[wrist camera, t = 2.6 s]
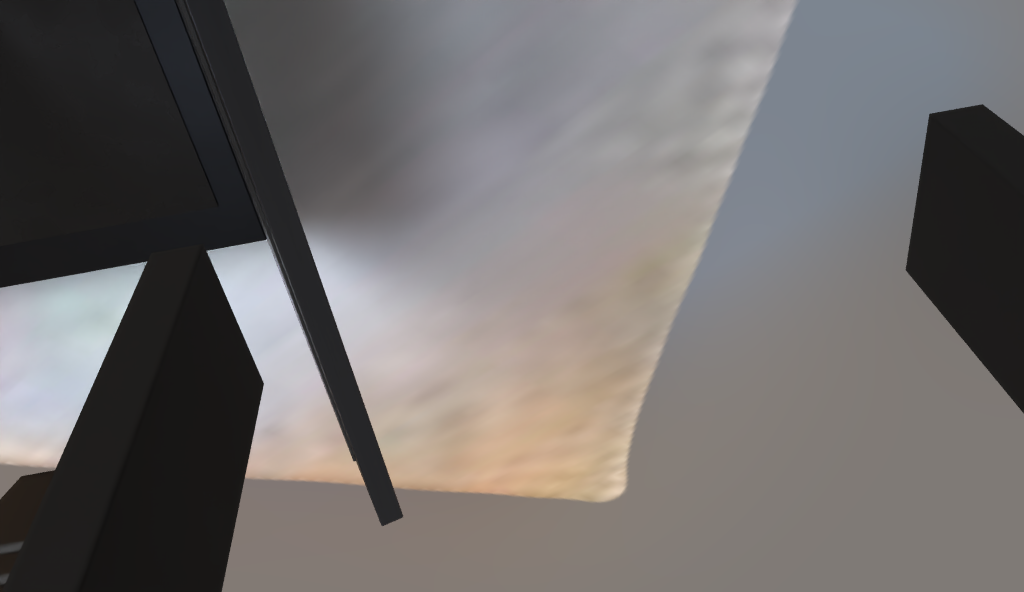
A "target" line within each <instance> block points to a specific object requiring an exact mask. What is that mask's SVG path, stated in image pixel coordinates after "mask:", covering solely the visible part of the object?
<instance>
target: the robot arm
mask: <svg viewBox="0 0 1024 592" xmlns="http://www.w3.org/2000/svg"><path fill="white" fill-rule="evenodd" d="M906 271H907V272H908V273H909V275H910V276H911V277H912V278H913V279H914V281H915V282H916V283H917V284H918V286H919V287H920V288H921V289H922V290H923V292H924V293H925V294H926V295H927V297H928V298H929V299H930V300H931V301H932V303H933V304H934V305H935V306H936V307H937V308H938V310H939V311H940V312H941V314H942V315H943V316H944V317H945V318H946V320H947V321H948V322H949V323H950V324H951V326H952V327H953V328H954V329H955V330H956V332H957V333H958V334H959V335H960V337H961V338H962V339H963V340H964V341H965V343H967V345H968V346H969V347H970V349H971V350H972V351H973V352H974V354H975V355H976V356H977V357H978V358H979V360H980V361H981V362H982V363H983V364H984V366H985V367H986V368H987V369H988V371H990V373H991V374H992V375H993V377H994V378H995V379H996V380H997V381H998V383H999V384H1000V385H1001V386H1002V387H1003V389H1004V390H1005V391H1006V392H1007V394H1008V395H1009V396H1010V397H1011V398H1012V399H1013V401H1014V402H1015V403H1016V405H1017V406H1018V407H1019V408H1020V409H1021V411H1022V412H1023V413H1024V136H1023V135H1022V134H1021V133H1019V132H1018V131H1017V130H1015V129H1014V128H1013V127H1011V126H1010V125H1009V124H1008V123H1006V122H1005V121H1004V120H1002V119H1001V118H1000V117H998V116H997V115H996V114H994V113H993V112H992V111H991V110H989V109H988V108H987V107H985V106H984V105H977V106H971V107H965V108H960V109H954V110H949V111H943V112H937V113H932V114H929V120H928V127H927V133H926V140H925V147H924V153H923V160H922V166H921V174H920V179H919V186H918V193H917V200H916V206H915V213H914V219H913V226H912V233H911V239H910V245H909V252H908V258H907V265H906ZM263 386H264V383H263V381H262V378H261V376H260V374H259V371H258V369H257V367H256V364H255V362H254V360H253V357H252V355H251V353H250V351H249V348H248V346H247V344H246V341H245V339H244V337H243V334H242V332H241V330H240V327H239V325H238V323H237V321H236V318H235V316H234V314H233V311H232V309H231V307H230V304H229V302H228V300H227V297H226V295H225V293H224V291H223V288H222V286H221V284H220V281H219V279H218V277H217V274H216V272H215V270H214V267H213V265H212V263H211V261H210V258H209V256H208V254H207V251H206V249H205V247H204V244H199V245H194V246H188V247H183V248H177V249H171V250H166V251H160V252H155V253H151V255H150V257H149V259H148V262H147V264H146V266H145V268H144V271H143V273H142V275H141V277H140V280H139V282H138V284H137V286H136V289H135V291H134V293H133V295H132V298H131V300H130V302H129V304H128V307H127V309H126V311H125V314H124V316H123V318H122V320H121V323H120V325H119V327H118V329H117V332H116V334H115V336H114V338H113V341H112V343H111V345H110V347H109V350H108V352H107V354H106V357H105V359H104V361H103V363H102V366H101V368H100V370H99V372H98V375H97V377H96V379H95V381H94V384H93V386H92V388H91V390H90V393H89V395H88V397H87V400H86V402H85V404H84V406H83V409H82V411H81V413H80V415H79V418H78V420H77V422H76V424H75V427H74V429H73V431H72V433H71V436H70V438H69V440H68V443H67V445H66V447H65V449H64V452H63V454H62V456H61V458H60V461H59V463H58V465H57V467H56V470H54V471H49V472H43V473H38V474H32V475H26V476H22V477H20V478H19V480H18V481H17V482H16V483H15V484H14V485H13V486H12V487H11V488H10V489H9V490H8V492H7V493H6V494H5V495H4V496H3V497H2V498H1V499H0V592H222V587H223V582H224V577H225V572H226V567H227V562H228V557H229V552H230V547H231V542H232V537H233V533H234V528H235V522H236V518H237V513H238V508H239V503H240V498H241V493H242V488H243V483H244V479H245V474H246V469H247V464H248V459H249V454H250V449H251V444H252V440H253V435H254V430H255V425H256V420H257V415H258V410H259V405H260V400H261V395H262V390H263Z"/></svg>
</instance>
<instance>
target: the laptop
mask: <svg viewBox="0 0 1024 592" xmlns="http://www.w3.org/2000/svg"><path fill="white" fill-rule="evenodd" d="M266 239H267V238H266V236H265V233H264V231H263V228H262V225H261V223H260V220H259V218H258V215H257V212H256V210H255V207H254V204H253V202H252V199H251V197H250V194H249V191H248V189H247V186H246V184H245V181H244V178H243V176H242V173H241V170H240V168H239V165H238V163H237V160H236V157H235V155H234V152H233V149H232V147H231V144H230V142H229V139H228V136H227V134H226V131H225V128H224V126H223V123H222V121H221V118H220V115H219V113H218V110H217V108H216V105H215V102H214V100H213V97H212V94H211V92H210V89H209V87H208V84H207V81H206V79H205V76H204V73H203V71H202V68H201V66H200V63H199V60H198V58H197V55H196V52H195V50H194V47H193V45H192V42H191V39H190V37H189V34H188V32H187V29H186V26H185V24H184V21H183V18H182V16H181V13H180V11H179V8H178V5H177V3H176V0H0V288H2V287H8V286H13V285H19V284H24V283H30V282H35V281H41V280H46V279H52V278H57V277H63V276H69V275H74V274H80V273H85V272H91V271H96V270H102V269H107V268H113V267H118V266H124V265H130V264H135V263H141V262H146V261H148V259H149V257H150V255H151V253H155V252H160V251H166V250H171V249H177V248H183V247H188V246H194V245H199V244H204V247H205V249H206V251H207V250H213V249H218V248H224V247H229V246H235V245H240V244H246V243H252V242H257V241H263V240H266Z"/></svg>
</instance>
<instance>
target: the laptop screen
mask: <svg viewBox="0 0 1024 592" xmlns="http://www.w3.org/2000/svg"><path fill="white" fill-rule="evenodd" d="M176 3H177V5H178V8H179V11H180V13H181V16H182V18H183V21H184V24H185V26H186V29H187V32H188V34H189V37H190V39H191V42H192V45H193V47H194V50H195V52H196V55H197V58H198V60H199V63H200V66H201V68H202V71H203V73H204V76H205V79H206V81H207V84H208V87H209V89H210V92H211V94H212V97H213V100H214V102H215V105H216V108H217V110H218V113H219V115H220V118H221V121H222V123H223V126H224V128H225V131H226V134H227V136H228V139H229V142H230V144H231V147H232V149H233V152H234V155H235V157H236V160H237V163H238V165H239V168H240V170H241V173H242V176H243V178H244V181H245V184H246V186H247V189H248V191H249V194H250V197H251V199H252V202H253V204H254V207H255V210H256V212H257V215H258V218H259V220H260V223H261V225H262V228H263V231H264V233H265V236H266V238H267V241H268V243H269V246H270V248H271V251H272V254H273V256H274V259H275V261H276V264H277V266H278V269H279V271H280V274H281V277H282V279H283V282H284V284H285V287H286V289H287V292H288V295H289V297H290V300H291V302H292V305H293V307H294V310H295V312H296V315H297V318H298V320H299V323H300V325H301V328H302V330H303V333H304V335H305V338H306V341H307V343H308V346H309V348H310V351H311V353H312V356H313V358H314V361H315V364H316V366H317V369H318V371H319V374H320V376H321V379H322V382H323V384H324V387H325V389H326V392H327V394H328V397H329V399H330V402H331V405H332V407H333V410H334V412H335V415H336V417H337V420H338V422H339V425H340V428H341V430H342V433H343V435H344V438H345V440H346V443H347V446H348V448H349V451H350V453H351V456H352V458H353V461H356V462H357V465H358V467H359V470H360V472H361V475H362V477H363V480H364V482H365V485H366V487H367V490H368V492H369V495H370V498H371V500H372V503H373V505H374V507H375V510H376V513H377V515H378V517H379V520H380V523H381V525H382V526H384V525H386V524H388V523H391V522H393V521H396V520H398V519H400V518H402V517H403V514H402V511H401V508H400V506H399V503H398V500H397V497H396V494H395V491H394V488H393V486H392V483H391V480H390V477H389V474H388V471H387V468H386V465H385V463H384V460H383V457H382V454H381V451H380V448H379V445H378V443H377V440H376V437H375V434H374V431H373V428H372V425H371V422H370V420H369V417H368V414H367V411H366V408H365V405H364V402H363V399H362V397H361V394H360V391H359V388H358V385H357V382H356V379H355V377H354V374H353V371H352V368H351V365H350V362H349V359H348V356H347V354H346V351H345V348H344V345H343V342H342V339H341V336H340V334H339V331H338V328H337V325H336V322H335V319H334V316H333V313H332V311H331V308H330V305H329V302H328V299H327V296H326V293H325V290H324V288H323V285H322V282H321V279H320V276H319V273H318V270H317V268H316V265H315V262H314V259H313V256H312V253H311V250H310V247H309V245H308V242H307V239H306V236H305V233H304V230H303V227H302V225H301V222H300V219H299V216H298V213H297V210H296V207H295V204H294V202H293V199H292V196H291V193H290V190H289V187H288V184H287V181H286V179H285V176H284V173H283V170H282V167H281V164H280V161H279V159H278V156H277V153H276V150H275V147H274V144H273V141H272V138H271V136H270V133H269V130H268V127H267V124H266V121H265V118H264V116H263V113H262V110H261V107H260V104H259V101H258V98H257V95H256V93H255V90H254V87H253V84H252V81H251V78H250V75H249V72H248V70H247V67H246V64H245V61H244V58H243V55H242V52H241V50H240V47H239V44H238V41H237V38H236V35H235V32H234V29H233V27H232V24H231V21H230V18H229V15H228V12H227V9H226V6H225V4H224V1H223V0H176Z"/></svg>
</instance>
